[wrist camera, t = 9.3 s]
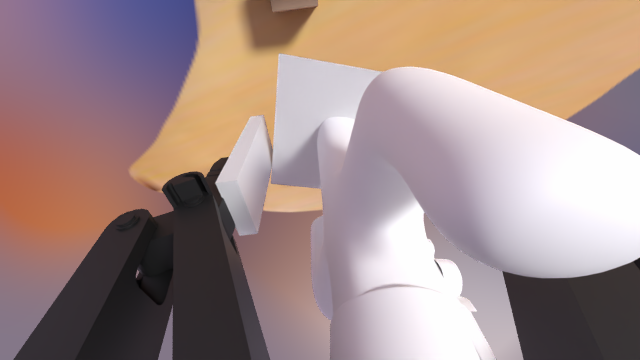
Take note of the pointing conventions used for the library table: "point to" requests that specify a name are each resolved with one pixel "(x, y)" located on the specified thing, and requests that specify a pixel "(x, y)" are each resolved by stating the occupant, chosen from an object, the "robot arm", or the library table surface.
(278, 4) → the walnut block
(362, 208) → the figurine
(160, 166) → the library table surface
